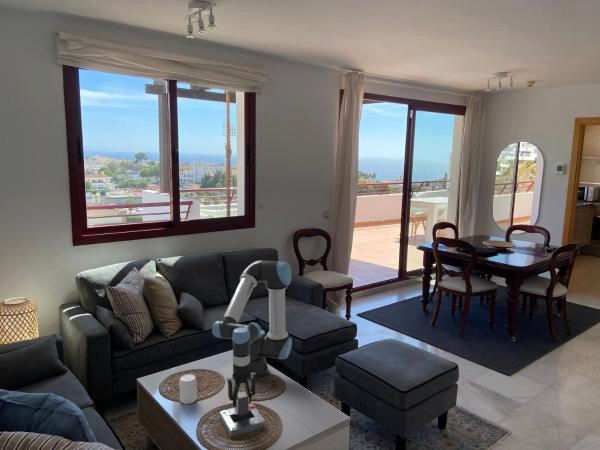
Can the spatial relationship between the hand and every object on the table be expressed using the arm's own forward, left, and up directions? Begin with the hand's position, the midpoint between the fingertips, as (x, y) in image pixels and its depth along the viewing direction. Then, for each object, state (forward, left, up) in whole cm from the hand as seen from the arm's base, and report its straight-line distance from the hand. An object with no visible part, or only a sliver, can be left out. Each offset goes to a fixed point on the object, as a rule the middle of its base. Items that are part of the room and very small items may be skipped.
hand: (242, 411), depth 201 cm
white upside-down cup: (+18, -29, -6) cm, 34 cm away
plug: (0, 0, 0) cm, 0 cm away
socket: (0, 0, -5) cm, 5 cm away
